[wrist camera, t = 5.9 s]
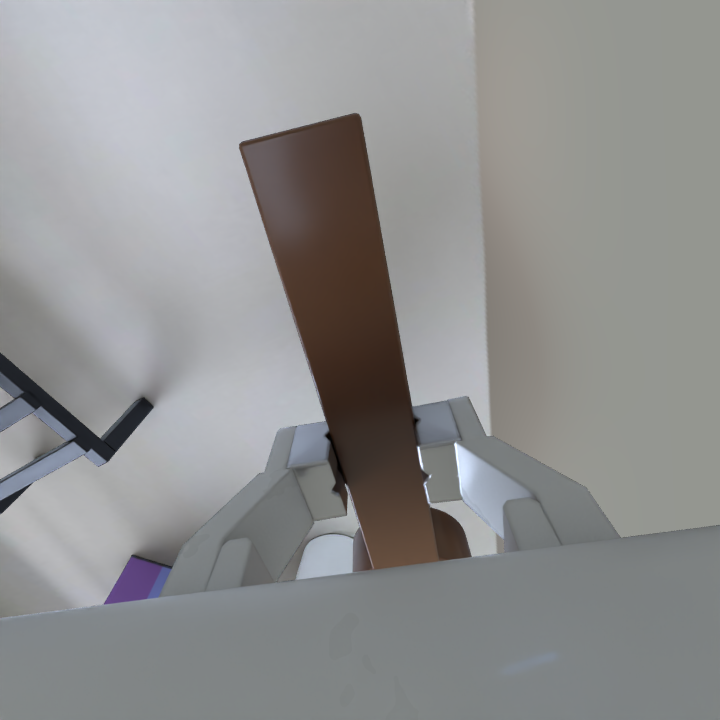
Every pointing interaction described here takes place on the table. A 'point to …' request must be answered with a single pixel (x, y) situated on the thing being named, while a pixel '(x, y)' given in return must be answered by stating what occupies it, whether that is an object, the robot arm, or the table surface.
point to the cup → (326, 557)
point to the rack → (62, 423)
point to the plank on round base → (350, 332)
